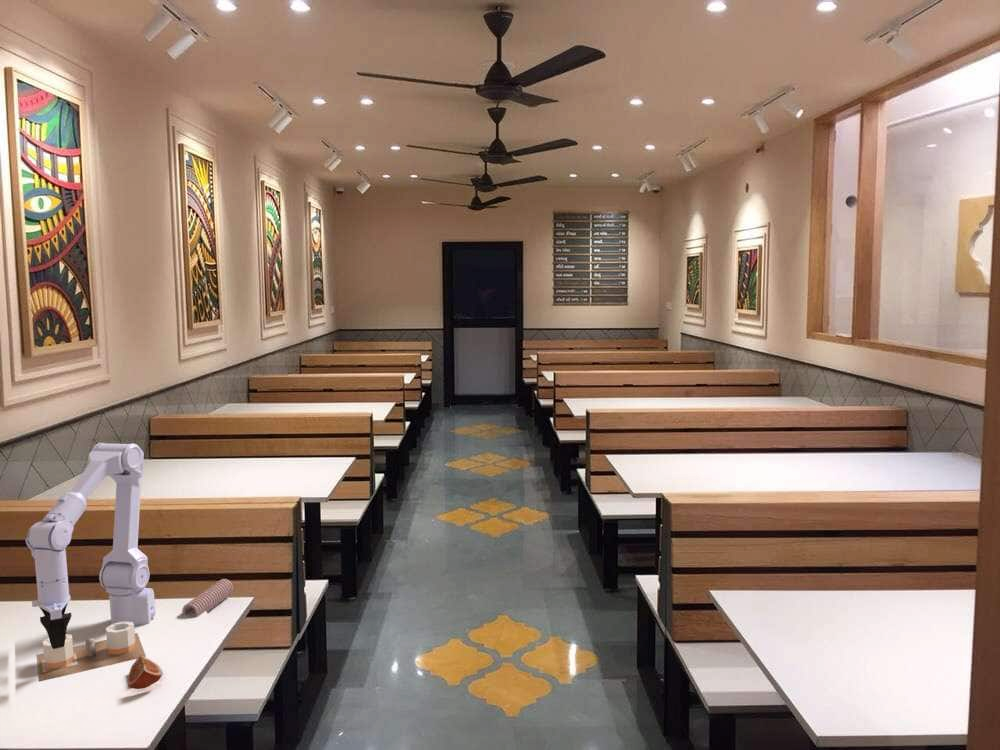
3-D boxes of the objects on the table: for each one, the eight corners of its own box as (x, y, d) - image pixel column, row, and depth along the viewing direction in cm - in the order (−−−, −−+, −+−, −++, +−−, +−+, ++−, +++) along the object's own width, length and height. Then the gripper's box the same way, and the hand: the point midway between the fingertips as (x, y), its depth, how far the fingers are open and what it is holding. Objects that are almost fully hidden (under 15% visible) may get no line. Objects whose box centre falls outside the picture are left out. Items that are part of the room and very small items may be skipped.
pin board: (137, 639, 186) (136, 616, 186) (146, 663, 174) (144, 639, 174) (37, 661, 176) (35, 637, 176) (39, 688, 164) (37, 663, 164)
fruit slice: (126, 680, 167) (124, 657, 166) (161, 672, 170) (159, 650, 169) (128, 698, 160) (126, 674, 159) (165, 690, 163) (163, 666, 162)
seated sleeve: (106, 647, 179) (105, 625, 178) (133, 641, 182) (132, 619, 181) (109, 656, 174) (107, 634, 174) (136, 650, 177) (135, 628, 177)
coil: (198, 606, 194) (235, 579, 212) (180, 603, 195) (218, 576, 212) (197, 625, 195) (234, 596, 212) (179, 622, 195) (218, 593, 213)
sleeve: (44, 660, 173) (42, 638, 172) (73, 654, 176) (71, 632, 175) (45, 670, 168) (43, 647, 168) (74, 664, 171) (73, 641, 170)
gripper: (29, 571, 174) (34, 632, 176) (30, 593, 162) (36, 658, 163) (66, 565, 178) (71, 625, 179) (70, 585, 165) (76, 649, 167)
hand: (57, 640), depth 171 cm, fingers open, 7 cm apart
